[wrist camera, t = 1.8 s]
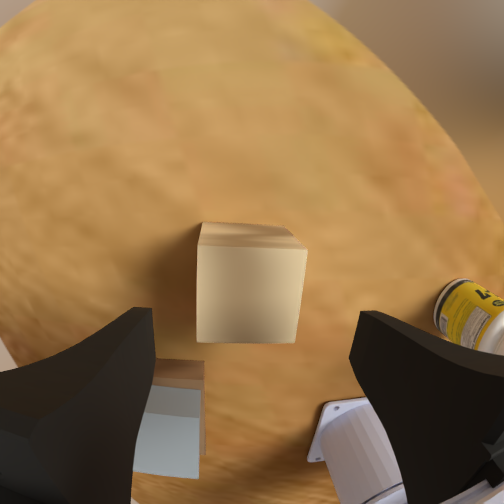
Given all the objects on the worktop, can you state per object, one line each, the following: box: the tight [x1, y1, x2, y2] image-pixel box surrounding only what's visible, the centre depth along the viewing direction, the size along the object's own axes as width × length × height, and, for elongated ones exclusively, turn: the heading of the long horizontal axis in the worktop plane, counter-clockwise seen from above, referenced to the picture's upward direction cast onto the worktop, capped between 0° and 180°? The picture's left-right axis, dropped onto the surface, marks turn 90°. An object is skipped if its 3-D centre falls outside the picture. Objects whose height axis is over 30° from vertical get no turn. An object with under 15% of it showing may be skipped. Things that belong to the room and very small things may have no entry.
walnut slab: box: [152, 358, 206, 455], centre depth 20 cm, size 8×8×2 cm
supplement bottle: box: [433, 278, 504, 356], centre depth 17 cm, size 5×5×8 cm
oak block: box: [197, 222, 308, 343], centre depth 16 cm, size 4×4×5 cm
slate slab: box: [133, 385, 201, 479], centre depth 17 cm, size 7×7×2 cm
